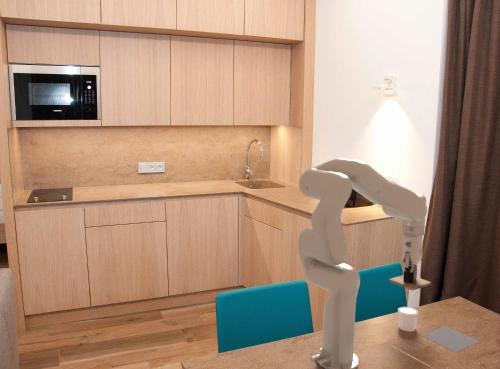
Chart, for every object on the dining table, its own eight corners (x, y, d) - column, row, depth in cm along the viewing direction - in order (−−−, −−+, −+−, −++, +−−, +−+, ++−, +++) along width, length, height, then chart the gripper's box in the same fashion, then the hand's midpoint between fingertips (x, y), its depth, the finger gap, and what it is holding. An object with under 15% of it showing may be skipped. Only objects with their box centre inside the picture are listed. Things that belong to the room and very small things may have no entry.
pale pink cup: (419, 333, 159) (421, 314, 158) (400, 333, 159) (401, 314, 158) (413, 324, 166) (414, 306, 164) (394, 324, 166) (395, 306, 165)
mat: (455, 353, 146) (455, 352, 146) (421, 336, 157) (421, 335, 156) (479, 342, 152) (479, 341, 152) (444, 327, 163) (445, 326, 163)
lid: (412, 290, 153) (413, 274, 152) (388, 281, 161) (389, 265, 160) (431, 284, 158) (432, 268, 157) (407, 275, 166) (408, 260, 165)
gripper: (418, 236, 148) (415, 290, 150) (429, 226, 161) (426, 275, 164) (395, 233, 152) (392, 285, 155) (407, 223, 165) (405, 271, 168)
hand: (410, 279), depth 159 cm, fingers closed on lid, 4 cm apart
